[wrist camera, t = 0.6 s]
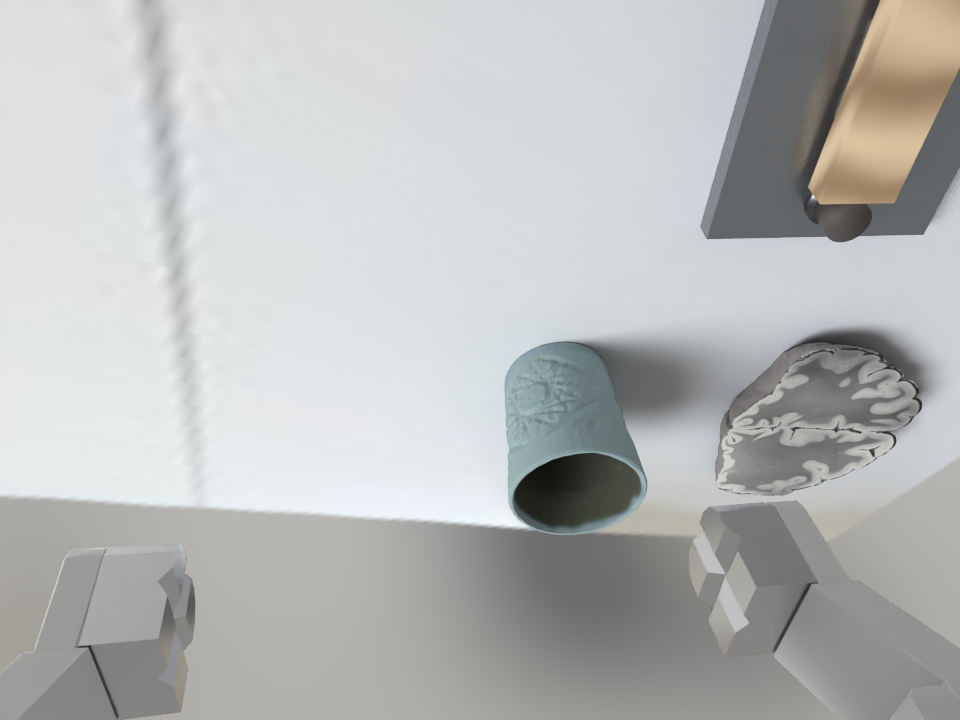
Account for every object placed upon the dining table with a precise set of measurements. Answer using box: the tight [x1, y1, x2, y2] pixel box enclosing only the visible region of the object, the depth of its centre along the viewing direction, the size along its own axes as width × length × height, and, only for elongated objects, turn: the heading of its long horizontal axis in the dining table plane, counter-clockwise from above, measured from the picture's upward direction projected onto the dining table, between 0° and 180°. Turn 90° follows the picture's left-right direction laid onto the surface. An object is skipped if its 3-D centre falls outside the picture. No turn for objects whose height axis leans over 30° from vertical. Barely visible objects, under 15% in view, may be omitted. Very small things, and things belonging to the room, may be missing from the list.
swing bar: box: [808, 0, 960, 242], centre depth 47 cm, size 17×5×2 cm, turn 178°
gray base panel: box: [700, 0, 960, 239], centre depth 46 cm, size 28×16×2 cm, turn 178°
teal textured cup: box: [505, 342, 647, 535], centre depth 61 cm, size 10×10×12 cm
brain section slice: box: [715, 342, 922, 495], centre depth 70 cm, size 20×17×3 cm
